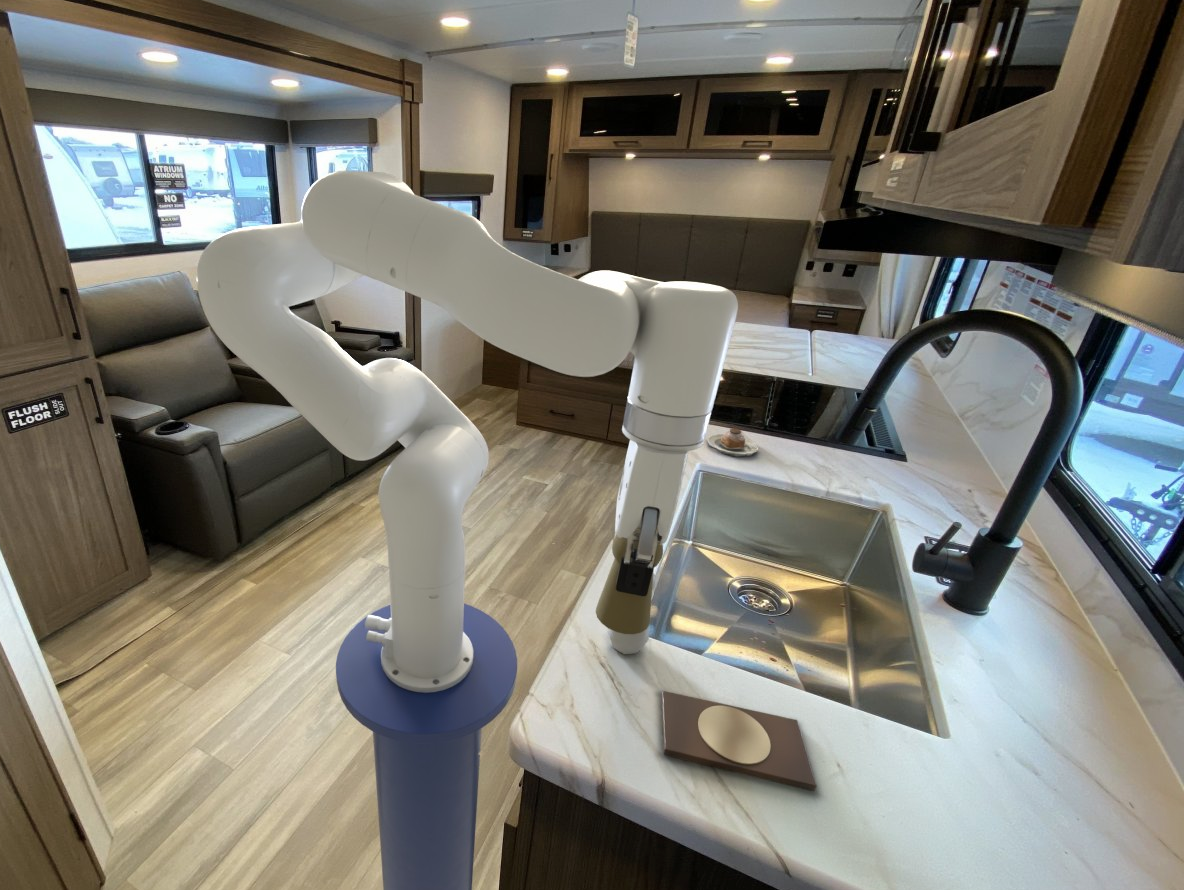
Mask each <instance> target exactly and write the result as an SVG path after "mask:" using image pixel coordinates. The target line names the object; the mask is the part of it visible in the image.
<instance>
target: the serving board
mask: <svg viewBox="0 0 1184 890" xmlns="http://www.w3.org/2000/svg"><path fill="white" fill-rule="evenodd" d="M660 700H661V701H660V702H661V725H662V727H661V728H662V748H663V749H662V753H663V755H664V756H667V757H671V758H676V759H680V760H683V761H684V760H685V761H688V762H692V763H695V764H696V763H697V764H700V765H705V766H707V767H708V766H709V767H713V768H716V769H721V770H725V771H730V772H733V773H736V774H737V773H738V774H741V775H745V776H750V777H754V778H758V779H762V780H766V781H770V782H774V783H778V784H782V785H787V786H790V787H794V788H799V789H802V790H807V791H812V792H815V790H816V788H817V786H818V785H817V782H816V778H815V776H814V772H813V769H812V765H811V761H810V758H809V756H808V751H807V748H806V745H805V742H804V739H803V735H802V731H801V728H800V724H799V720H798V719H793V718H789V717H786V716H780V715H776V714H772V713H767V712H762V711H758V710H754V709H749V708H744V707H739V706H736V705H730V704H726V703H722V702H716V701H711V700H708V699H704V698H700V697H699V698H698V697H696V696H695V697H693V696H689V695H684V694H680V693H677V692H671V691H667V690H662V691H661V695H660Z"/></svg>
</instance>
